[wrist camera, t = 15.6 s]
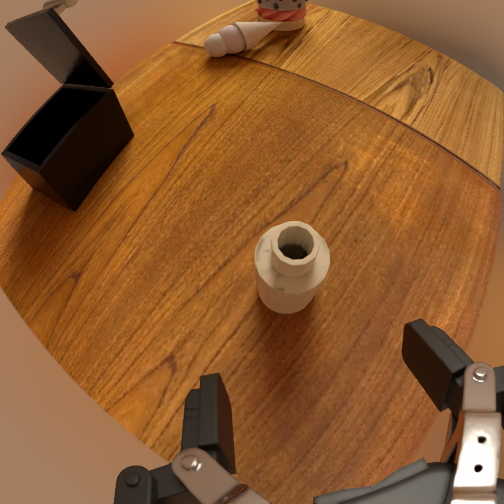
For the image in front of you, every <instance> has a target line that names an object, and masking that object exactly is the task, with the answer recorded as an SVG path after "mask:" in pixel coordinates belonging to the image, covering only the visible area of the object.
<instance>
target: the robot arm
mask: <svg viewBox="0 0 504 504" xmlns="http://www.w3.org/2000/svg"><path fill="white" fill-rule="evenodd" d="M402 356H403V360H404V362H405V364H406V365H407V366H408V368H409V369H410V370H411V372H412V373H413V375H414V376H415V377H416V379H417V380H418V381H419V383H420V384H421V386H422V387H423V388H424V390H425V391H426V393H427V394H428V395H429V397H430V398H431V400H432V401H433V403H434V404H435V405H436V407H437V408H438V410H439V411H440V412H441V411H443V410H445V409H447V408H449V409H450V410H451V413H450V417H449V423H448V430H447V435H446V441H445V446H444V450H443V454H442V457H441V459H440V462H433V463H426V461H425V459H424V458H422V459H420V460H418V461H416V462H413V463H411V464H409V465H407V466H404V467H402V468H400V469H398V470H397V471H395V472H394V473H392V474H391V475H389V476H388V477H386V478H385V479H383V480H382V481H380V482H379V483H377V484H376V485H373V486H368V487H360V488H351V489H342V490H338V491H335V492H331V493H328V494H324V495H320V496H316V497H313V500H314V504H504V480H503V479H500V478H497V474H498V467H499V457H500V443H501V426H502V428H503V429H504V366H500V367H496V368H492V367H491V366H490V365H488V364H486V363H482V362H476V363H474V362H473V361H472V360H471V358H469V357H468V355H467V354H466V353H465V352H464V351H463V350H462V349H461V348H460V347H459V346H458V345H457V344H455V342H454V341H453V340H452V339H451V338H450V337H449V336H448V335H447V334H446V333H445V332H444V331H443V330H441V329H439V328H437V327H435V326H431V327H430V326H429V325H428V324H427V323H426V322H425V321H424V320H423V319H417V320H415V321H412V322H409V323H406V324H405V326H404V333H403V344H402ZM184 410H185V411H184V419H183V429H182V441H181V450H180V452H179V453H178V454H177V455H176V456H175V457H174V458H173V461H172V462H171V463H169V464H168V465H165V466H162V467H159V468H156V469H153V470H150V471H148V470H147V469H146V468H144V467H142V466H130V467H127V468H125V469H124V470H122V471H121V472H120V474H119V475H118V477H117V482H116V489H115V497H114V504H272V503H270V502H269V501H268V500H266V499H265V498H264V497H262V496H261V495H260V494H258V493H257V492H256V491H254V490H253V489H252V488H251V487H249V486H248V485H246V484H244V485H243V484H242V483H240V482H239V481H238V480H237V479H235V478H234V477H233V476H232V475H231V474H236V468H235V455H234V440H233V425H232V410H231V404H230V400H229V396H228V394H227V391H226V389H225V386H224V384H223V381H222V378H221V376H220V374H219V373H214V374H209V375H203V376H201V378H200V388H199V389H192V390H191V391H190V392H189V394H188V396H187V397H186V399H185V407H184Z"/></svg>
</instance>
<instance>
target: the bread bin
mask: <svg viewBox="0 0 504 504" xmlns="http://www.w3.org/2000/svg"><path fill="white" fill-rule="evenodd" d="M133 136H134V134H133V132H132V129H131V127H130V125H129V123H128V121H127V118H126V116H125V114H124V112H123V110H122V107H121V105H120V103H119V101H118V99H117V96H116V94H115V92H114V90H113V89H109V88H101V87H92V86H81V85H69V84H63V85H62V86H61V87H60V88H59V89H58V90H57V91H56V92H55V93H54V94H53V95H52V96H51V97H50V98H49V99H48V100H47V101H46V102H45V103H44V104H43V105H42V106H41V107H40V108H39V109H38V110H37V112H36V113H35V114H34V115H33V116H32V117H31V118H30V119H29V121H28V122H27V123H26V124H25V125H24V126H23V127H22V128H21V130H20V131H19V132H18V133H17V134H16V136H15V137H14V138H13V139H12V141H11V142H10V143H9V144H8V146H7V147H6V148H5V150H4V151H3V152H2V153H1V154H2V156H3V157H4V158H5V159H6V160H7V161H8V162H9V163H10V165H11V166H12V167H13V168H14V169H15V170H16V171H17V172H18V173H19V174H20V176H21V177H22V178H23V179H24V180H25V181H26V182H27V183H28V184H29V185H30V186H31V187H32V188H33V189H35V190H37V191H38V192H40V193H42V194H44V195H45V196H47V197H49V198H51V199H52V200H54V201H56V202H58V203H59V204H61V205H63V206H65V207H67V208H68V209H70V210H72V211H74V212H76V210H77V209H78V207H79V206H80V204H81V203H82V202H83V200H84V199H85V197H86V196H87V194H88V193H89V192H90V190H91V189H92V187H93V186H94V185H95V183H96V182H97V181H98V179H99V178H100V177H101V175H102V174H103V173H104V171H105V170H106V169H107V168H108V166H109V165H110V164H111V162H112V161H113V160H114V159H115V157H116V156H117V155H118V154H119V152H120V151H121V150H122V149H123V148H124V146H125V145H126V144H127V143H128V142H129V140H130V139H131V138H132V137H133Z"/></svg>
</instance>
